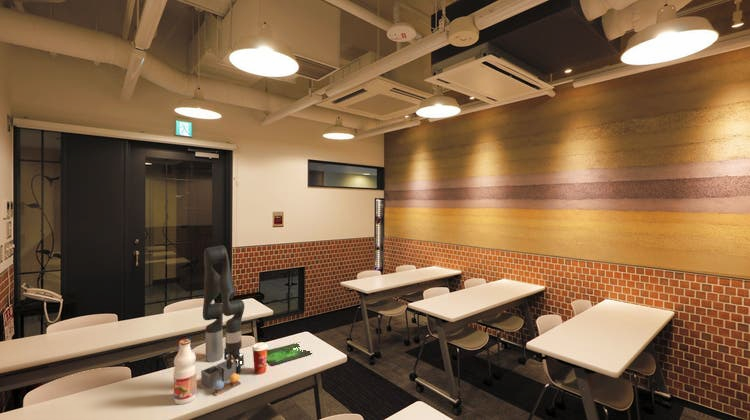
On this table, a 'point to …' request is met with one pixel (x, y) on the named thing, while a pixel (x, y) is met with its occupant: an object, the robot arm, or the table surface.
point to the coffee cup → (260, 357)
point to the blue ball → (219, 385)
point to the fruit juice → (185, 374)
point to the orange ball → (234, 378)
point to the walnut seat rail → (226, 388)
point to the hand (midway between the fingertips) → (233, 371)
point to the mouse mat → (285, 354)
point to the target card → (225, 383)
